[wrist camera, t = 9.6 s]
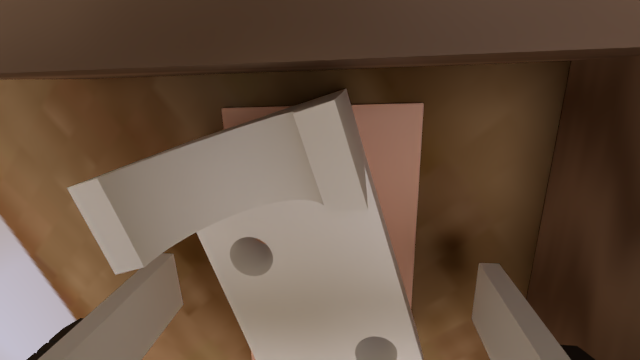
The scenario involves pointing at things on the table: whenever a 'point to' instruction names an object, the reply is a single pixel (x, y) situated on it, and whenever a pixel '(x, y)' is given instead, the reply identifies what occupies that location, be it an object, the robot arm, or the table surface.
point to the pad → (380, 167)
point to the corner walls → (411, 51)
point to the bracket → (271, 231)
